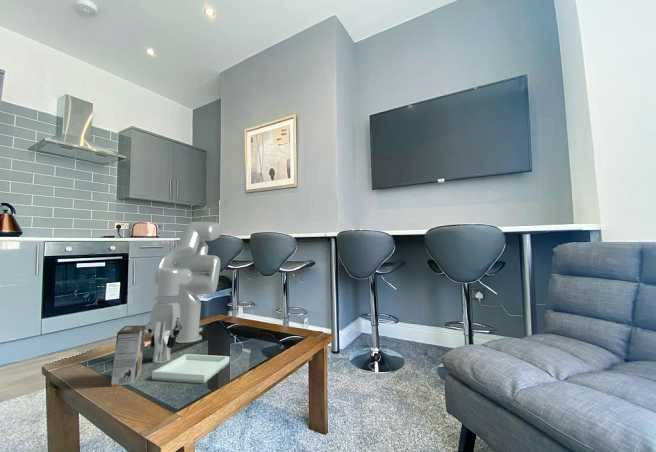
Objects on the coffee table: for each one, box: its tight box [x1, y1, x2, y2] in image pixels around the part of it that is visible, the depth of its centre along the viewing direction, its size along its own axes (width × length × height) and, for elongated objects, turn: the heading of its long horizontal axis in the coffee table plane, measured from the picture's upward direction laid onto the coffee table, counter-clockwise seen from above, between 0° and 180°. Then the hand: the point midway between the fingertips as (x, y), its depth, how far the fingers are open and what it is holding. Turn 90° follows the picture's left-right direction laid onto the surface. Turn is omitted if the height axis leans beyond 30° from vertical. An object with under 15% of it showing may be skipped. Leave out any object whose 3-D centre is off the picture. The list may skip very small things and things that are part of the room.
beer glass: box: [152, 322, 174, 364], centre depth 108 cm, size 7×7×15 cm
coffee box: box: [110, 324, 146, 386], centre depth 90 cm, size 9×6×16 cm
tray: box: [151, 353, 230, 384], centre depth 98 cm, size 18×18×2 cm
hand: (162, 346), depth 108 cm, fingers closed on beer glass, 6 cm apart
